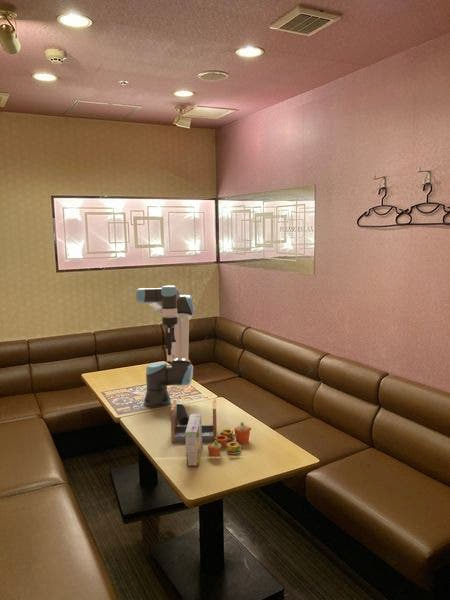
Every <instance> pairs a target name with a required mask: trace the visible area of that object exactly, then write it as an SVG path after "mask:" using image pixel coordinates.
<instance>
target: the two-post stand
mask: <svg viewBox="0 0 450 600" xmlns="http://www.w3.org/2000/svg"><path fill="white" fill-rule="evenodd" d="M177 404H178V403H177V400H176V399H175V400H173V401H172V403H171V408H170V430H171V431H170V432H171V433H170V434H171V438H170V439H171V444H178V443H179V444H181V443H183V444H184V443H185V444H186V438H185V431H186V428H187V425H178V420H177ZM217 421H218V420H217V398H216V399H212V424H202V443H213V442H214V441H215V437H216V436H218V430H217V429H218V425H217V424H218V423H217Z"/></svg>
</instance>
